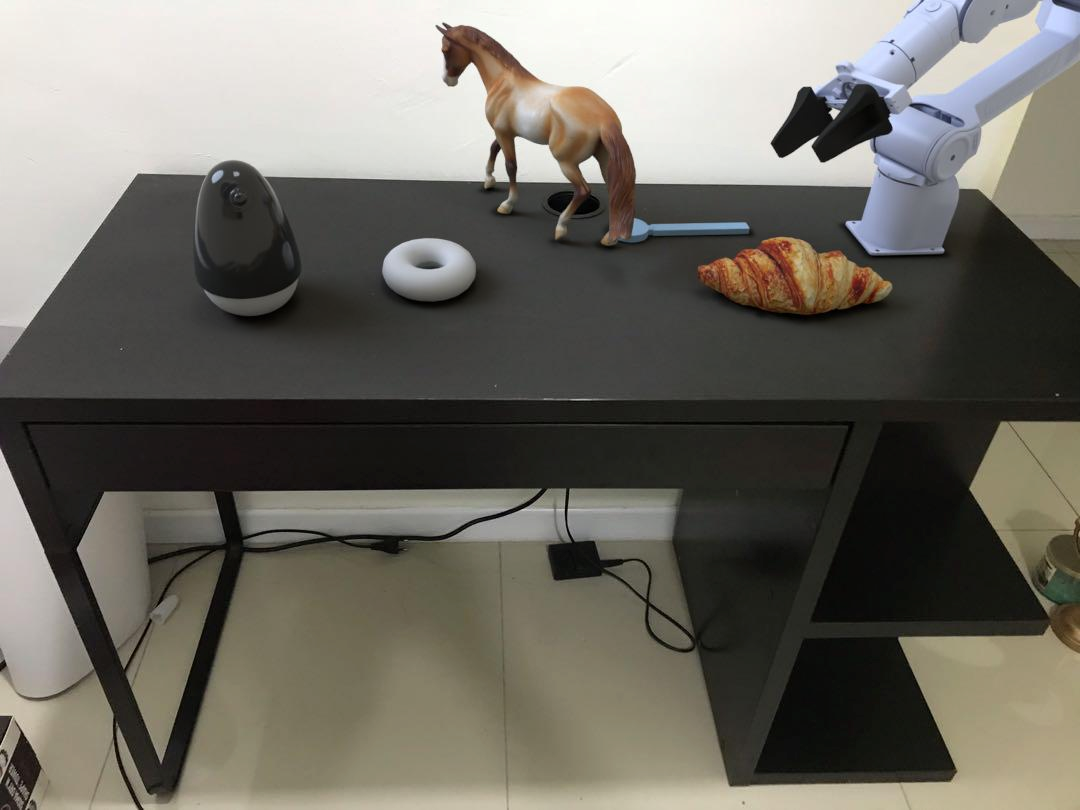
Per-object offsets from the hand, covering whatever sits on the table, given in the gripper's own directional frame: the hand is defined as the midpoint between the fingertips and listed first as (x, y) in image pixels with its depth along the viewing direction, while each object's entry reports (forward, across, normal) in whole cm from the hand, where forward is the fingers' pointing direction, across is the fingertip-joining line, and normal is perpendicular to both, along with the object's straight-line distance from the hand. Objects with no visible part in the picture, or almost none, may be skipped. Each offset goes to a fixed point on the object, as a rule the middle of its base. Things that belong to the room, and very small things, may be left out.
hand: (796, 152), depth 93 cm
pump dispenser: (+52, -12, -23) cm, 58 cm away
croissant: (+9, -1, +13) cm, 16 cm away
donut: (+37, -12, -12) cm, 41 cm away
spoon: (+10, -16, +5) cm, 20 cm away
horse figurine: (+24, -20, -7) cm, 32 cm away
